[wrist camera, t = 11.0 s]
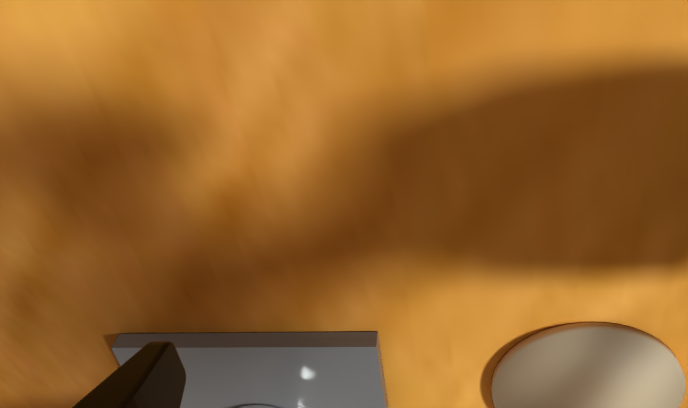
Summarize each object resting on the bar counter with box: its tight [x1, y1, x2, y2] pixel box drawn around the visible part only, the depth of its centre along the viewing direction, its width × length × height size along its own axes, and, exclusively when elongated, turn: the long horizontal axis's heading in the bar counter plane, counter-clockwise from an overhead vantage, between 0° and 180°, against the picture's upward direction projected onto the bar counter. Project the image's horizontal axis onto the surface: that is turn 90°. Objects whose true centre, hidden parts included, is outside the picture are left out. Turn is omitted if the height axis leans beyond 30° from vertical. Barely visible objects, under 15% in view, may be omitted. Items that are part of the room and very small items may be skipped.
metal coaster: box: [491, 322, 686, 408], centre depth 28 cm, size 9×9×1 cm
